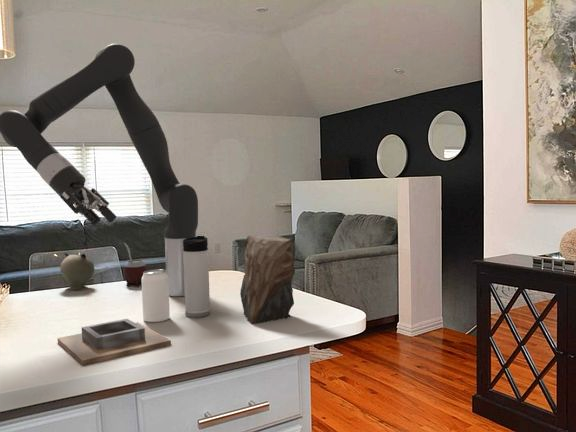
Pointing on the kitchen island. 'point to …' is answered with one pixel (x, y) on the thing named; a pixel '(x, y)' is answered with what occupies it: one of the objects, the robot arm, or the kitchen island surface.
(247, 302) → the brown rock
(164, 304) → the can
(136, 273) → the mate gourd
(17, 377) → the kitchen island surface
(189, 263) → the travel mug
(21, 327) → the kitchen island surface
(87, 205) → the robot arm
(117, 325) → the mount
